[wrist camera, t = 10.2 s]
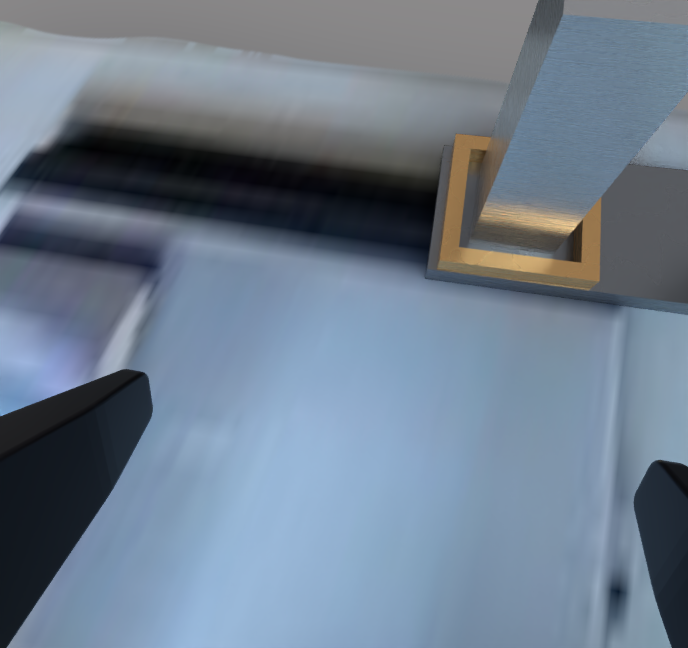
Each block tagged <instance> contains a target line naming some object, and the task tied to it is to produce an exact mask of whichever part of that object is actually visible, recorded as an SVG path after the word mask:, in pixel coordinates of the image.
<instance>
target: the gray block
mask: <svg viewBox="0 0 688 648" xmlns="http://www.w3.org/2000/svg"><path fill="white" fill-rule="evenodd" d="M687 92H688V0H539V1H538V3H537V6H536V9H535V12H534V15H533V18H532V21H531V24H530V27H529V29H528V32H527V35H526V38H525V41H524V44H523V47H522V50H521V52H520V55H519V58H518V61H517V64H516V67H515V70H514V73H513V75H512V78H511V81H510V84H509V87H508V90H507V93H506V96H505V98H504V101H503V104H502V107H501V110H500V113H499V116H498V119H497V121H496V124H495V127H494V130H493V133H492V136H491V139H490V142H489V144H488V147H487V150H486V153H485V156H484V159H483V162H482V165H481V167H480V170H479V173H478V181H477V188H476V195H475V203H474V210H473V218H472V225H471V232H470V240H469V242H470V243H477V244H484V245H491V246H498V247H504V248H511V249H518V250H525V251H532V252H539V253H546V254H552V255H553V254H554V253H555V252H556V251H557V249H558V248H559V247H560V246H561V245H562V243H563V242H564V241H565V240H566V239H567V237H568V236H569V235H570V234H571V233H572V231H573V230H574V229H575V228H576V226H577V225H578V224H579V223H580V222H581V220H582V219H583V218H584V217H585V216H586V214H587V213H588V212H589V211H590V210H591V208H592V207H593V206H594V205H595V203H596V202H597V201H598V200H599V199H600V197H601V196H602V195H603V194H604V193H605V191H606V190H607V189H608V188H609V187H610V185H611V184H612V183H613V182H614V180H615V179H616V178H617V177H618V176H619V174H620V173H621V172H622V171H623V170H624V168H625V167H626V166H627V165H628V164H629V162H630V161H631V160H632V159H633V157H634V156H635V155H636V154H637V153H638V151H639V150H640V149H641V148H642V147H643V145H644V144H645V143H646V142H647V141H648V139H649V138H650V137H651V136H652V134H653V133H654V132H655V131H656V130H657V128H658V127H659V126H660V125H661V124H662V122H663V121H664V120H665V119H666V118H667V116H668V115H669V114H670V113H671V111H672V110H673V109H674V108H675V107H676V105H677V104H678V103H679V102H680V101H681V99H682V98H683V97H684V95H685V94H686V93H687Z"/></svg>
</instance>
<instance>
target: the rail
mask: <svg viewBox="0 0 688 648" xmlns="http://www.w3.org/2000/svg"><path fill="white" fill-rule="evenodd" d="M490 139H491V137H483V136H473V135H463V134H456V135H455V140H454V144H453V146H448V145H444V149H443V154H442V158H441V165H440V172H439V179H438V187H437V194H436V201H435V209H434V216H433V223H432V231H431V238H430V245H429V252H428V260H427V267H426V274H425V279H432V280H439V281H446V282H454V283H461V284H468V285H476V286H483V287H490V288H497V289H505V290H512V291H519V292H527V293H534V294H541V295H549V296H556V297H563V298H570V299H578V300H585V301H592V302H600V303H607V304H614V305H622V306H629V307H636V308H643V309H651V310H658V311H665V312H673V313H680V314H687V315H688V170H678V169H668V168H659V167H649V166H640V165H630V164H628V165H627V166H626V167H625V168H624V170H623V171H622V172H621V173H620V174H619V176H618V177H617V178H616V179H615V180H614V182H613V183H612V184H611V185H610V187H609V188H608V189H607V190H606V191H605V193H604V194H603V195H602V196H601V197H600V199H599V200H598V201H597V202H596V203H595V205H594V206H593V207H592V208H591V210H590V211H589V212H588V213H587V214H586V216H585V217H584V218H583V219H582V220H581V222H580V223H579V224H578V225H577V226H576V228H575V229H574V230H573V231H572V233H571V234H570V235H569V236H568V237H567V239H566V240H565V241H564V242H563V243H562V245H561V246H560V247H559V248H558V249H557V251H556V252H555V253H554V254H553V255H552V254H546V253H539V252H532V251H525V250H518V249H511V248H504V247H498V246H491V245H484V244H477V243H470V242H469V240H470V232H471V225H472V218H473V210H474V203H475V195H476V188H477V181H478V173H479V170H480V167H481V165H482V162H483V159H484V156H485V153H486V150H487V147H488V144H489V142H490Z"/></svg>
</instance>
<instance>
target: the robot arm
mask: <svg viewBox="0 0 688 648" xmlns="http://www.w3.org/2000/svg"><path fill="white" fill-rule="evenodd" d="M152 412H153V405H152V398H151V391H150V384H149V379H148V376H147V375H146V374H145V373H144V372H140V371H135V370H129V369H123V370H120V371H118V372H115V373H112V374H110V375H107V376H105V377H102V378H99V379H97V380H94V381H91V382H89V383H86V384H84V385H81V386H78V387H76V388H73V389H71V390H68V391H65V392H63V393H60V394H58V395H55V396H52V397H50V398H47V399H45V400H42V401H39V402H37V403H34V404H31V405H29V406H26V407H24V408H21V409H18V410H16V411H13V412H11V413H8V414H5V415H3V416H0V648H7V646H8V645H9V644H10V642H11V641H12V639H13V638H14V636H15V635H16V633H17V632H18V630H19V629H20V627H21V626H22V624H23V623H24V621H25V620H26V618H27V617H28V615H29V614H30V612H31V611H32V609H33V608H34V606H35V605H36V603H37V602H38V600H39V599H40V597H41V596H42V594H43V593H44V591H45V590H46V589H47V587H48V586H49V584H50V583H51V581H52V580H53V578H54V577H55V575H56V574H57V572H58V571H59V569H60V568H61V566H62V565H63V563H64V562H65V560H66V559H67V557H68V556H69V554H70V553H71V551H72V550H73V548H74V547H75V545H76V544H77V542H78V541H79V539H80V538H81V536H82V535H83V533H84V532H85V531H86V529H87V528H88V526H89V525H90V523H91V522H92V520H93V519H94V517H95V516H96V514H97V513H98V511H99V510H100V508H101V507H102V505H103V504H104V502H105V501H106V499H107V498H108V496H109V495H110V493H111V491H112V490H113V488H114V486H115V485H116V483H117V481H118V479H119V478H120V476H121V474H122V472H123V470H124V468H125V466H126V464H127V463H128V461H129V459H130V457H131V455H132V453H133V451H134V449H135V448H136V446H137V444H138V442H139V440H140V438H141V436H142V434H143V433H144V431H145V429H146V427H147V425H148V423H149V421H150V419H151V416H152ZM634 510H635V515H636V519H637V523H638V528H639V532H640V536H641V541H642V545H643V549H644V554H645V558H646V562H647V567H648V571H649V575H650V580H651V584H652V588H653V592H654V595H655V599H656V602H657V605H658V609H659V612H660V615H661V618H662V621H663V624H664V627H665V629H666V632H667V635H668V638H669V641H670V644H671V647H672V648H688V467H687V466H686V465H683V464H681V463H675V462H669V461H664V460H656V461H654V462H653V463H652V464H651V465H650V466H649V468H648V470H647V472H646V474H645V476H644V478H643V480H642V482H641V483H640V485H639V487H638V489H637V491H636V493H635V496H634Z"/></svg>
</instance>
